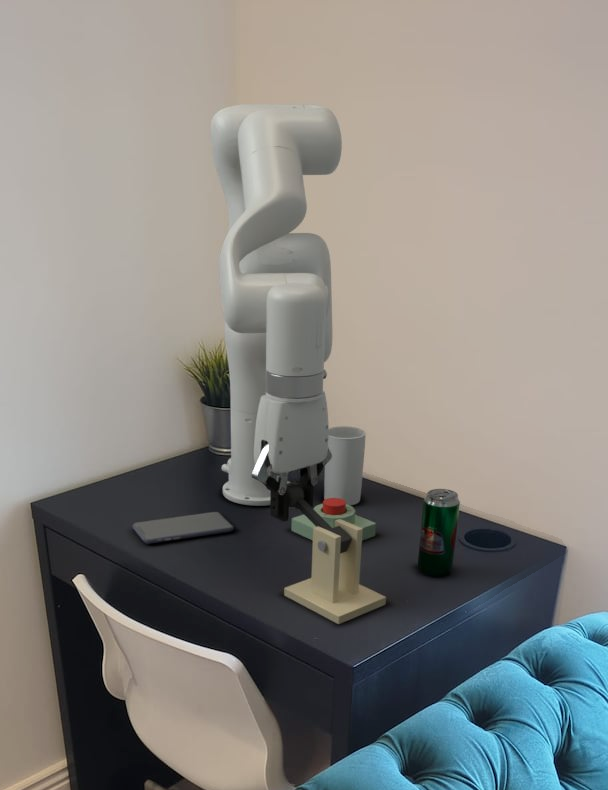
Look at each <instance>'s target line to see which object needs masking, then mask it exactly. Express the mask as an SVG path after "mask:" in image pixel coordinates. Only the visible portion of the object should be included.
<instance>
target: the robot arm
mask: <svg viewBox="0 0 608 790" xmlns="http://www.w3.org/2000/svg"><path fill="white" fill-rule="evenodd" d="M209 134H210V135H209V138H210V139H209V140H210V148H211V155H212V161H213V165H214V168H215V172H216V175H217V177H218V181H219V183H220V186H221V189H222V191H223V194H224V197H225V201H226V206H227V215H228V216H227V217H228V233H227V234H226V236H225V238H224V241H223V244H222V246H221V250H220V254H219V264H218V276H219V278H218V279H219V288H220V301H221V309H222V314H223V319H224V321H225V322H224V331H223V332H224V334H223V335H224V343H225V351H226V357H227V364H228V372H229V390H230V391H229V392H230V393H229V394H230V395H229V396H230V458H229V459H228V460H227V463H224V464H222V465H221V471H222V472H224V473H227V474H228V481H226V482H225V483H224V484H223V486H222V495H223V496H224V498H225V499H227V500H228V501H230V502H232V503H236V504H239V505H244V506H251V507H253V506H254V507H267V506H269V513H270V516H271V517H273V518H275V519H278V520H279V521H281V522H288V521H289V517H290V515H289V514H290V507H289V494H287V493H285V492H286V486H287V484H288V483H292V482H291V481H289V480H288V479H289V473H290V472H295V471H297V478H298V480H295V482H294V483H297V484H299V485H300V486H301V487H302V488H303V490H304V500H305V501H306V502H307V503H308V504H309V505H310V506H311V507H312V508H313V509H314V488H315V487H314V486H316V485H317V484H318V482H319V476H320V474H321V473H322V471H323V469H324V467H325V465H326V464H327V463H328V462H329V461H330V459H331V458H332V454H331V452H330V450H329V448H328V440H329V428H330V427H329V411H328V403H327V396H326V391H324V380H325V379H327V377H328V373H327V370H326V369H325V363H326V362H327V361H328V360H329V358H330V356H331V353H332V348H333V299H332V297H333V296H332V295H333V294H332V293H333V292H332V266H331V256H330V255H331V254H330V250H329V248H328V245H327V242H326V241H325V239H324V238H323V237H321V236H320V235H318V234H316V233H311V232H293V231H294V230H296V229H297V228H298V227H299V226H300V225H301V224H302V223H303V221H304V219H305V218H306V214H307V210H308V209H307V208H308V204H307V197H306V191H305V183H304V176H327V175H328V176H329V175H331V174H333V173H334V172H336V170H337V168H338V167H339V164H340V162H341V157H342V149H343V140H342V133H341V128H340V124H339V121H338V119H337V116H336V115H335V113H334V112H333V111H332V110H331V109H329V108H328V107H324V106H322V105H319V104H309V103H295V104H293V103H292V104H291V103H284V104H283V103H281V104H280V103H279V104H278V103H277V104H275V103H245V104H244V103H243V104H236V105H230V106H227V107H224V108H222V109H221V108H220V109H219V110H218V111H217V112H215V114H214V115H213V117H212V119H211V122H210V130H209ZM294 509H297V510H299V509H298V508H297V507H294Z"/></svg>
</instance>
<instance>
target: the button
mask: <svg viewBox="0 0 608 790" xmlns="http://www.w3.org/2000/svg"><path fill="white" fill-rule="evenodd" d="M322 504H323V513H325V514H328V515H342V514H345V512H346V501H345V500H343V499H340V498H328V499H325V500H323V501H322Z"/></svg>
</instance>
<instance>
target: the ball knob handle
mask: <svg viewBox="0 0 608 790" xmlns="http://www.w3.org/2000/svg"><path fill="white" fill-rule="evenodd" d="M285 493H287V494H289V508H295V507H297V508H298V509H297V508H296V509H297V510H299V511H300V512H301V513H302V515H305V516H306V517H307V518H308V519H309V520H310V521H311V522H312V523H313V524H314V525H315V526H316V527H318V526H319V527H321V528H323V529H326V530H328V531H330V532H332V533H335V534H337V535H339V536H341V546H340V554H341V553H344V552H346V551H347V550H348V547H349V545H350V543H351V540H352V538H351V537H350V536H349V535H348V534H347V533H346V532H345V531H344V530H343V529H342V528H341V527H340V526H337V527H334V528H332V527H331V526H330V525H329V524H328V523H327V522H326V521H325V520H324V519H323V518H322V517H321V516H320V515H319V514H318V513H317V512H316V511H315V510H314V507H313V508H312V507H311V506H310V505H309V504H308V503H307V502H306V501H305V500H304V490H303V488H302V487H301V486H300V485H299V484H297V483H295V482H291V483H288V484H287V486H286V492H285Z"/></svg>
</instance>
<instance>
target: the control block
mask: <svg viewBox="0 0 608 790" xmlns="http://www.w3.org/2000/svg"><path fill="white" fill-rule="evenodd" d="M313 509H314V510H315V511H316V512H317V513H318V514H319V515H320V516H321V517H322V518H323V519H324V520H325V521H326V522H327V523H328V524H329V525H330V526H331V527H332V528H334V526H335V520H338V519H341V520H344V521H346V522H348V523H351V524H353V525H355V526H358V527H360V528H363V532H362V541H365V540H368V539H370V538H373V537H376V528H377V523H376V522H374V521H372V520H369V519H367V518H364V517H361V516H359V515H357V514H356V509H355V508H354V506H353V505H351V506H349V505H347V504H346V512H345V514H342V515H328V514H325V513H323V503H320V504H317V505H315V506H314V507H313ZM315 527H316V526H315V525H314V524H313V523H312V522H311V521H310V520H309V519H308V518H307V517H306V516H305V515H304V514H300V515H298V516H295V517H292V518H291V532H293V533H295V534H297V535H300V536H302V537H304V538H306V539H308V540H309V541H310V540H311V541H312V542H313V528H315Z"/></svg>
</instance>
